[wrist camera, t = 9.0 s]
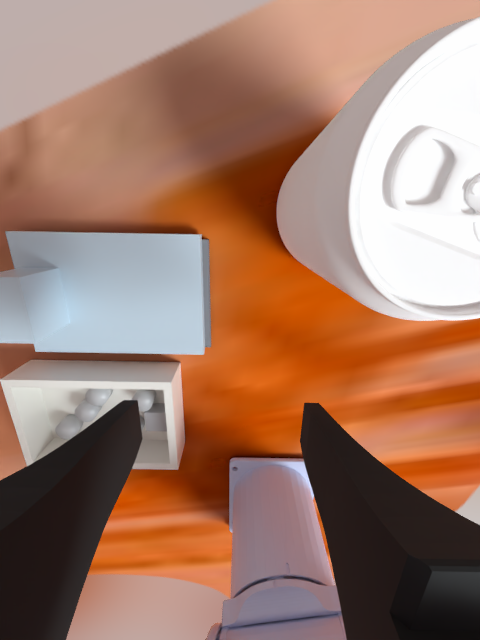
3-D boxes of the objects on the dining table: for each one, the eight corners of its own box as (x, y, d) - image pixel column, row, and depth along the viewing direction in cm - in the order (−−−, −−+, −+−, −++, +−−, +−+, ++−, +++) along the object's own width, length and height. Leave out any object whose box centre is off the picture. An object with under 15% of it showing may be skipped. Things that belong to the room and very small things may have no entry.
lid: (205, 350, 21) (196, 379, 17) (42, 347, 21) (-4, 376, 17) (201, 234, 18) (190, 237, 14) (14, 231, 18) (-50, 233, 14)
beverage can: (370, 282, 20) (540, 360, 9) (261, 256, 19) (290, 303, 8) (419, 158, 17) (758, 33, 6) (295, 124, 17) (408, -86, 5)
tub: (185, 441, 25) (178, 469, 22) (51, 439, 25) (27, 467, 22) (180, 362, 22) (171, 382, 19) (30, 359, 22) (-1, 379, 19)
